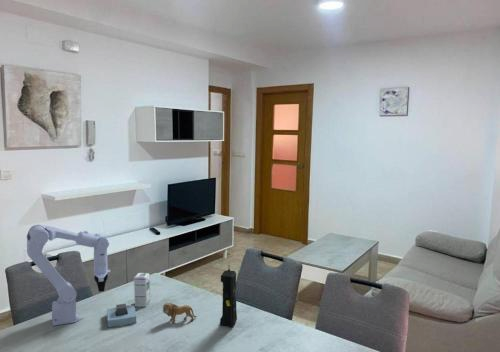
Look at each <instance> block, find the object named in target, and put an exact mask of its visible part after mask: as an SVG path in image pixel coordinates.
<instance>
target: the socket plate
mask: <svg viewBox="0 0 500 352" xmlns="http://www.w3.org/2000/svg"><path fill="white" fill-rule="evenodd" d="M135 307H136V306H135V304H134V305H126V315H120V316H116V307H113V308H107V309H106V311H107V328H113V327H122V326H126V325H131V324H132V325H133V324H137V314H136V313H137V312H136V308H135Z"/></svg>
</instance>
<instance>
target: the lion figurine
mask: <svg viewBox="0 0 500 352" xmlns="http://www.w3.org/2000/svg"><path fill="white" fill-rule="evenodd" d="M162 313H164V314H165V315H167V316H168V317H171V318H170V319H169V321H170V322H171V323H172V324H175V322H176V317H177V315H178V316H181V315H183V314H185V315H186V316H184V317H183V319H184V320H186V319H188V317H190V322H193V321H194V318H197V316H196V315H195V314H194V310H193V308H192V307H191V306H190V305H186V304H184V305H180V306H178V305H176V304H174V303H171V302H165V303H164V304H163V305H162Z"/></svg>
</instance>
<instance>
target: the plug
mask: <svg viewBox="0 0 500 352" xmlns="http://www.w3.org/2000/svg"><path fill="white" fill-rule="evenodd" d="M126 306H127V304H126V303H121V304H116V306H115V308H116V316H120V315H126Z"/></svg>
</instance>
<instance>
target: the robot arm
mask: <svg viewBox="0 0 500 352" xmlns="http://www.w3.org/2000/svg"><path fill="white" fill-rule="evenodd" d="M55 239H63V240H69V241H74V242H75V243H76V245H78V246H83V247H87V248H93V275H94V277H93V278H94V281H95V282H96V284H97V289H98V292H100V293H101V292H105V287H106V282H107V280H108V278H109V274H111V269H109V268H108V267H109V266H108V265H109V263H108V248H109V246H110V242H109V240H108V238H106V236H104V235H101V234H100V233H95V234H94V233H90V232H89V231H88V230H83V231H80V232H77V233H76V232H72V231H70V230H69V231H68V230H66V229H65V230H64V229H61V228H58V227H53V226H49V225H41V224H35V225H32V226H30V227H29V230H28V232H27V234H26V254H27V256H28V257H29V258H30V260H31V261H32V262H33V263H34V264H35V265H36V267H37V268H38V269H39V270H40V271H41V272H42V275H44V276H45V278H46V279H47V280H48V281H49V282H50V283H51V285H52V286H53V288H54V289H55V290H56V293H57V295H58V298H57V300H55V301H54V300H53V301H52V304H51V314H52V315H51V319H52V321H51V322H52V326H58V325H59V326H60V325H64V324H72V323H77V322H78V316H79V314H78V312H77V295H78V293H77V291H76V289H75V288H74V287H73V285H72V283H71V282H69V281H66V280H65V279H64V277H63V276H62V275H61V274H60V272H59V271H58V270H57V269H56V268H55V267H54V265H53V264H52V262H50V260H49V259H48V258H47V256H46V255H45V254H44V253H43V249H44V246H45V245H46V244H47V243H48V242H49V241H50V242H51V241H53V240H55Z"/></svg>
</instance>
